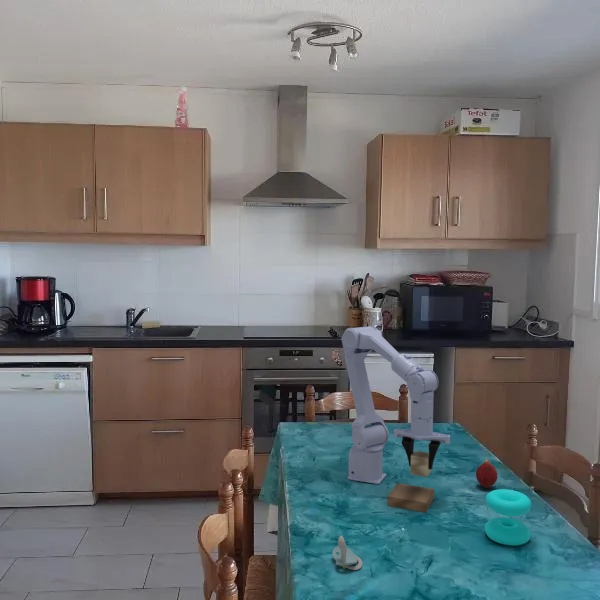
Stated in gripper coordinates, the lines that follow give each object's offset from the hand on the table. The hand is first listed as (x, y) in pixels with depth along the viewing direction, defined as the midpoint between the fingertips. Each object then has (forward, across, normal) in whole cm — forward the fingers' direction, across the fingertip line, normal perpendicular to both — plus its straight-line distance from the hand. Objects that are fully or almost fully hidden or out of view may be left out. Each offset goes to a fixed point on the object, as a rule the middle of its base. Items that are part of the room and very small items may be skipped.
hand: (420, 466), depth 164 cm
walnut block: (+9, -2, -3) cm, 10 cm away
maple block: (+2, 0, 0) cm, 2 cm away
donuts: (+9, +23, -14) cm, 28 cm away
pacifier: (+9, -7, -40) cm, 41 cm away
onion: (+9, +15, +15) cm, 23 cm away
